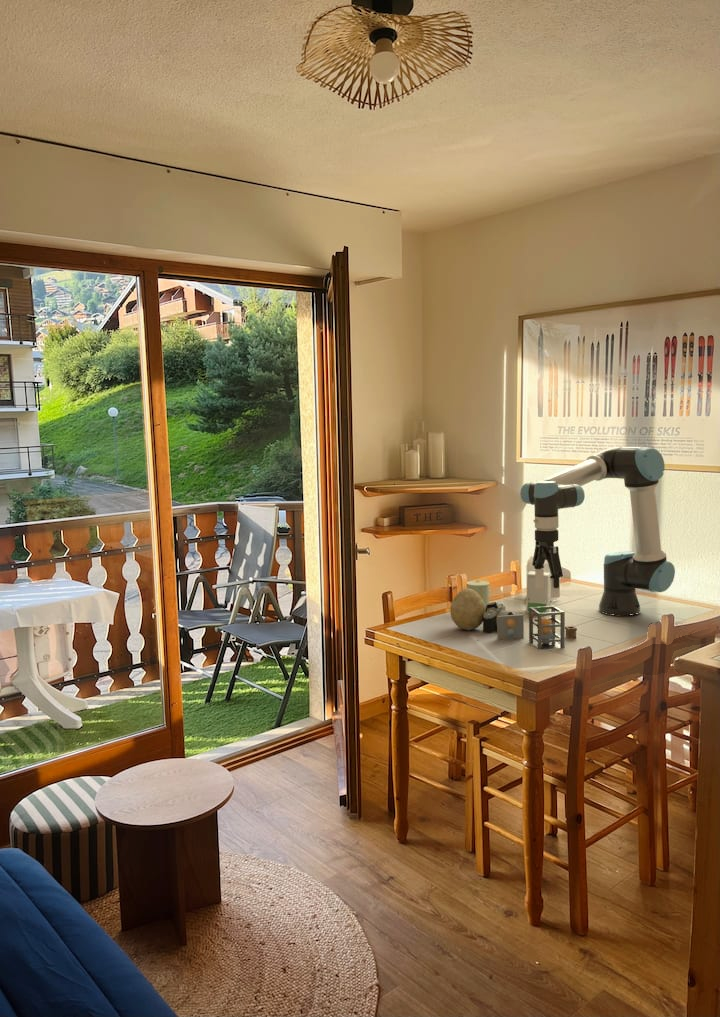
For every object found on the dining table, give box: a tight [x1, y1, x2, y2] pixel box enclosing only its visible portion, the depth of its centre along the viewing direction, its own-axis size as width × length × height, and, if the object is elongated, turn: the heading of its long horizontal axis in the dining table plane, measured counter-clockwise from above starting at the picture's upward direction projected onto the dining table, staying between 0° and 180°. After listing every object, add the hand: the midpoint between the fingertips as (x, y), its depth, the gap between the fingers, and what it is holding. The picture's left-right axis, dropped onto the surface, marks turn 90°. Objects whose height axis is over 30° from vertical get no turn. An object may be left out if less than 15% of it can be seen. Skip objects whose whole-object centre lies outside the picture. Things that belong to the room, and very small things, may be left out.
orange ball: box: [536, 617, 552, 633], centre depth 257 cm, size 5×5×5 cm
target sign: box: [496, 613, 525, 641], centre depth 267 cm, size 9×3×9 cm, turn 98°
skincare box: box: [526, 571, 551, 615], centre depth 303 cm, size 8×7×16 cm
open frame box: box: [528, 605, 566, 651], centre depth 258 cm, size 9×9×13 cm
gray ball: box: [542, 631, 553, 644], centre depth 259 cm, size 5×5×5 cm
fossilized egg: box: [449, 588, 486, 631], centre depth 282 cm, size 13×13×15 cm
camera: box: [482, 601, 514, 634], centre depth 279 cm, size 16×9×10 cm, turn 146°
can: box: [466, 580, 491, 607], centre depth 307 cm, size 9×9×12 cm
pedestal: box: [565, 625, 578, 640], centre depth 266 cm, size 5×5×4 cm
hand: (547, 592), depth 257 cm, fingers open, 13 cm apart
